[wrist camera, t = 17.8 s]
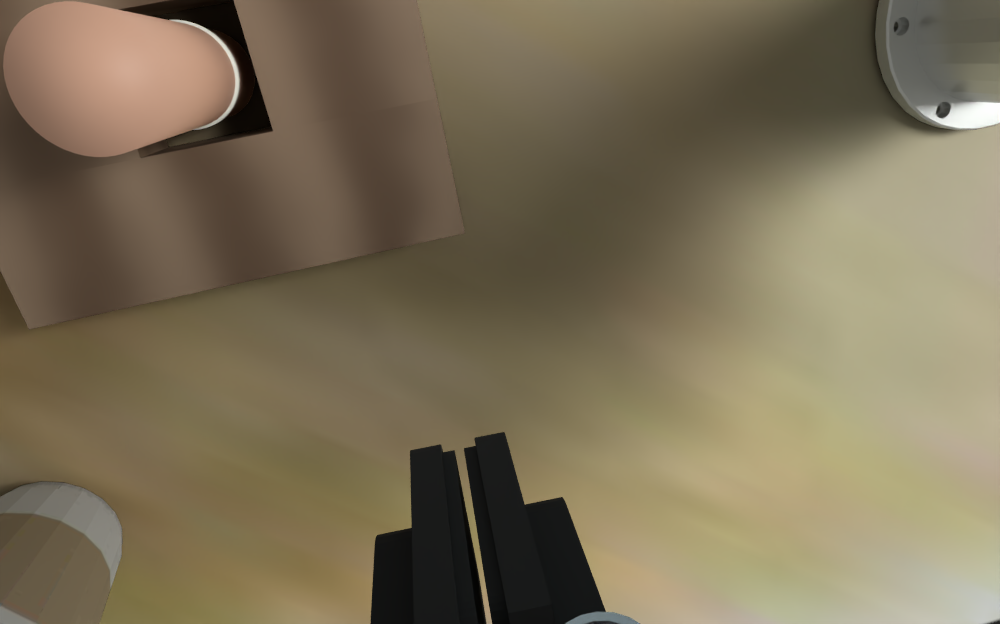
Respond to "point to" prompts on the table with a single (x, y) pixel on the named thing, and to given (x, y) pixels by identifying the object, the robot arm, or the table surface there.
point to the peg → (121, 77)
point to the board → (237, 169)
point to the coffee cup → (56, 554)
